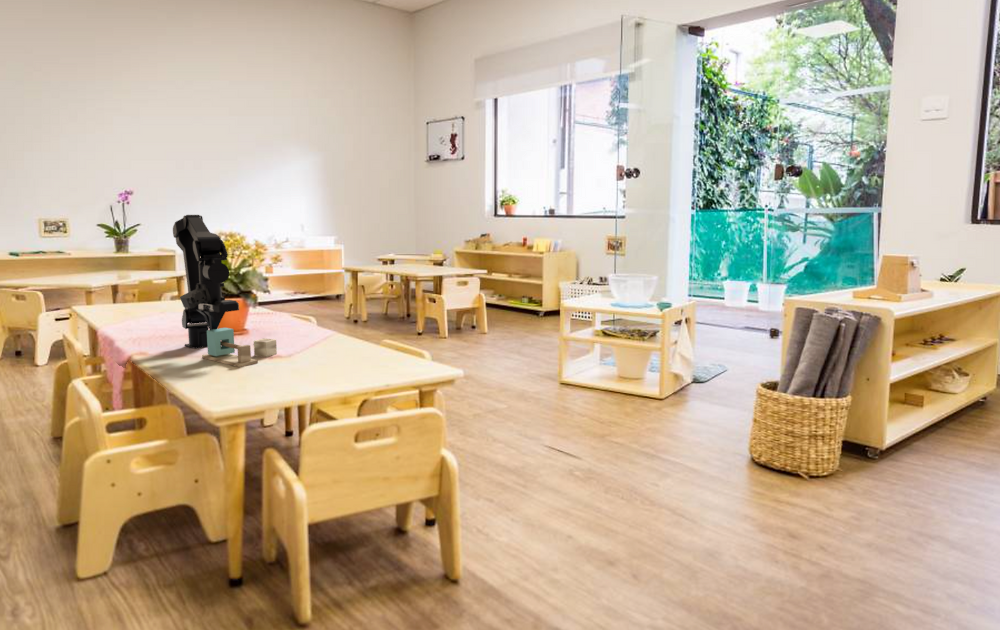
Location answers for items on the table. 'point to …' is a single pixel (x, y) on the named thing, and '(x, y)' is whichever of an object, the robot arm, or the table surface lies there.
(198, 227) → the robot arm
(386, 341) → the table surface
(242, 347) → the rail
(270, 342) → the maple cube
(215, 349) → the bead
